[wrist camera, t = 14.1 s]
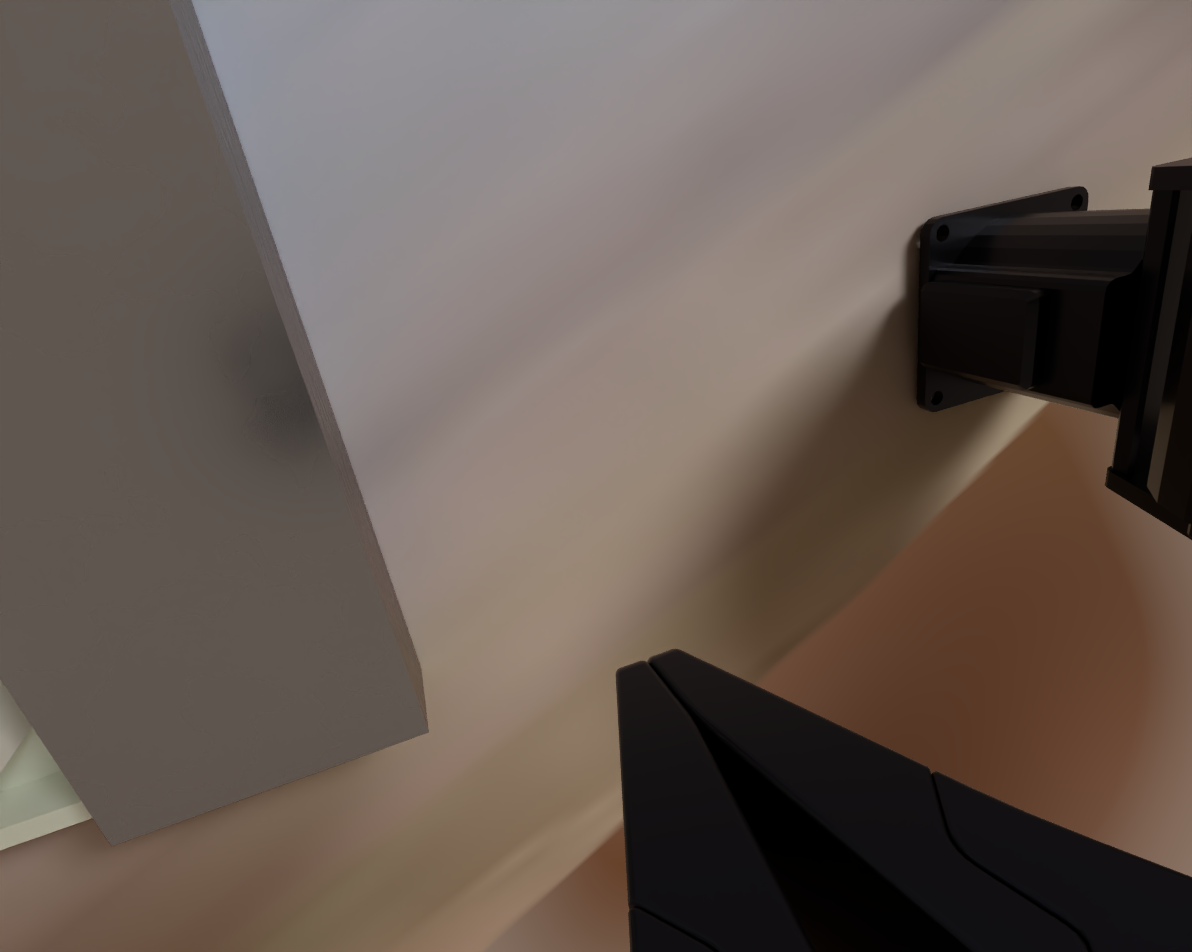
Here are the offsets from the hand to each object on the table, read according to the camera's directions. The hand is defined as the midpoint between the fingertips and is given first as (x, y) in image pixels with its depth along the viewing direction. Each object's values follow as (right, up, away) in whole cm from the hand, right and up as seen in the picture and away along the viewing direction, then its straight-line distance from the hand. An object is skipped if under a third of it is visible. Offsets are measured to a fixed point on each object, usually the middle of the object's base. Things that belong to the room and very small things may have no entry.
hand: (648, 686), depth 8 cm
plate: (-11, +4, +8) cm, 15 cm away
